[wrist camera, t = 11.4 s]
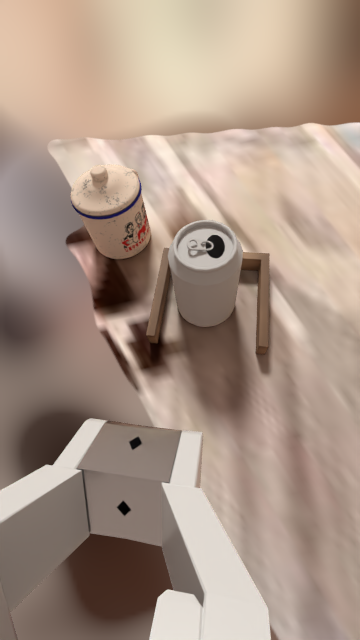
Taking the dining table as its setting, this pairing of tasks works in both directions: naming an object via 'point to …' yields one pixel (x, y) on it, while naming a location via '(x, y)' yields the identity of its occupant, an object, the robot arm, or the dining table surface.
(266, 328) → the frame
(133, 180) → the teacup with lid
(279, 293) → the dining table surface
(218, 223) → the can
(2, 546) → the robot arm
